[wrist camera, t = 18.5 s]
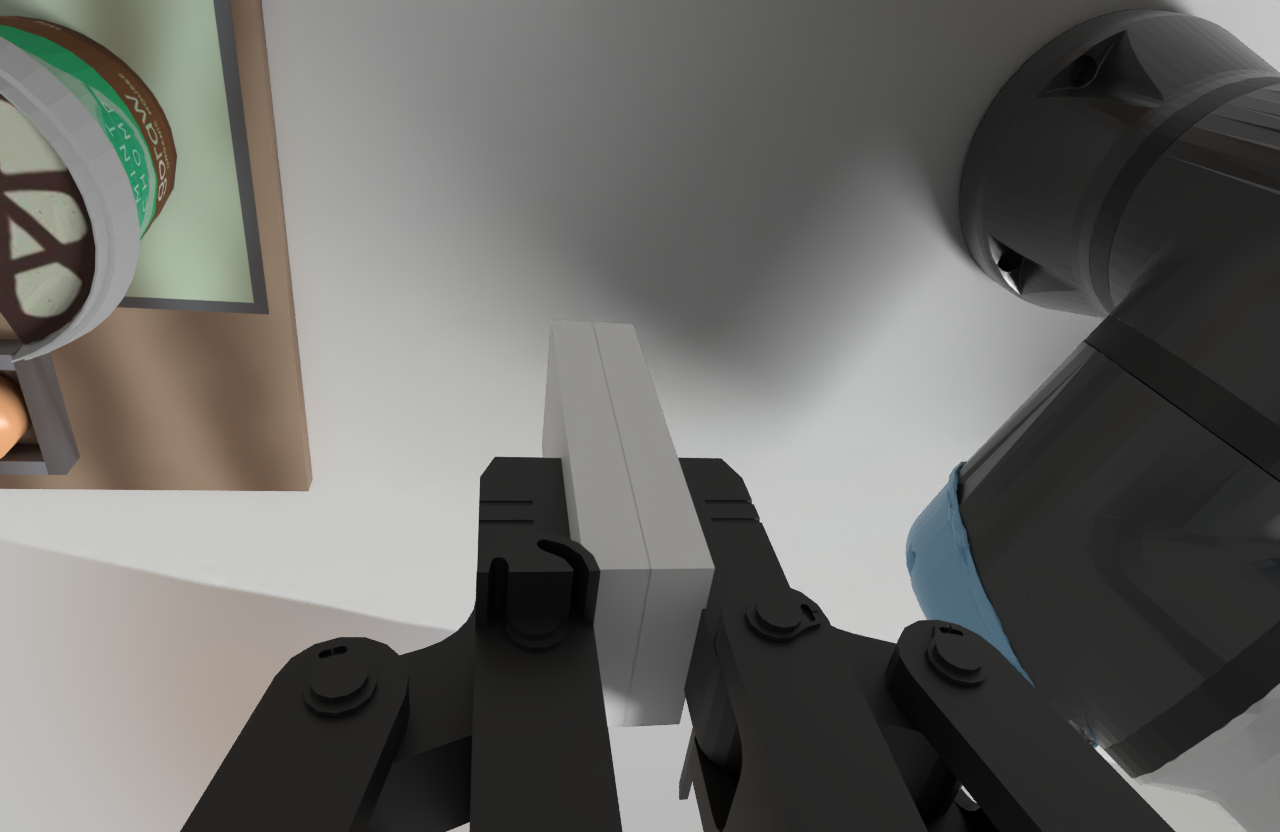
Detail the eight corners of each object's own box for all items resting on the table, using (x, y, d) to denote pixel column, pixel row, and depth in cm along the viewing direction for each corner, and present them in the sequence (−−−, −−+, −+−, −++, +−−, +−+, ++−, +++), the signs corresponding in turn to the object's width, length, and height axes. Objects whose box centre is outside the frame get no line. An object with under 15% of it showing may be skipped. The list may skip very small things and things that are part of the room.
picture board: (248, -123, 31) (227, -126, 29) (312, 478, 46) (302, 508, 43) (-345, -210, 27) (-423, -222, 25) (-67, 474, 42) (-100, 506, 40)
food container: (258, 239, 37) (188, 333, 29) (129, 272, 37) (21, 375, 29) (108, -63, 30) (-42, -56, 22) (-50, -23, 30) (-261, -2, 22)
